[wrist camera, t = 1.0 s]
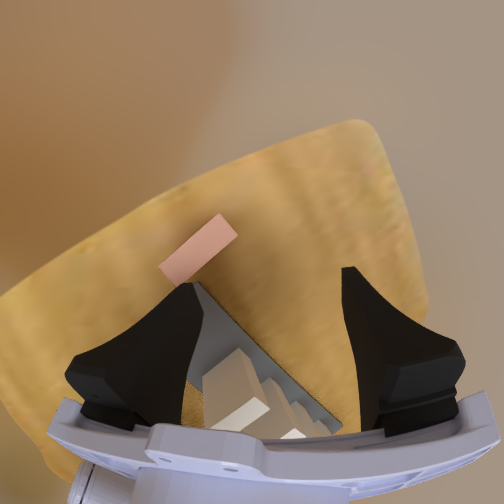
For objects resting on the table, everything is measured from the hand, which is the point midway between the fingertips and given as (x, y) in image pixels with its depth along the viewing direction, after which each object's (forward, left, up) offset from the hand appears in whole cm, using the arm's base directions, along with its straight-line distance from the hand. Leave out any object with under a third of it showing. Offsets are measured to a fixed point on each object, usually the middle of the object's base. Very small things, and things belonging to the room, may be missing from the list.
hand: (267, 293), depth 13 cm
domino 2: (-8, -8, -13) cm, 17 cm away
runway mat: (-8, -13, -13) cm, 20 cm away
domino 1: (-1, +3, -14) cm, 14 cm away
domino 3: (-8, -13, -13) cm, 20 cm away
